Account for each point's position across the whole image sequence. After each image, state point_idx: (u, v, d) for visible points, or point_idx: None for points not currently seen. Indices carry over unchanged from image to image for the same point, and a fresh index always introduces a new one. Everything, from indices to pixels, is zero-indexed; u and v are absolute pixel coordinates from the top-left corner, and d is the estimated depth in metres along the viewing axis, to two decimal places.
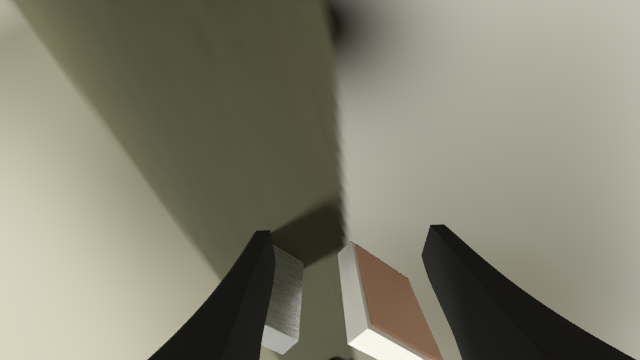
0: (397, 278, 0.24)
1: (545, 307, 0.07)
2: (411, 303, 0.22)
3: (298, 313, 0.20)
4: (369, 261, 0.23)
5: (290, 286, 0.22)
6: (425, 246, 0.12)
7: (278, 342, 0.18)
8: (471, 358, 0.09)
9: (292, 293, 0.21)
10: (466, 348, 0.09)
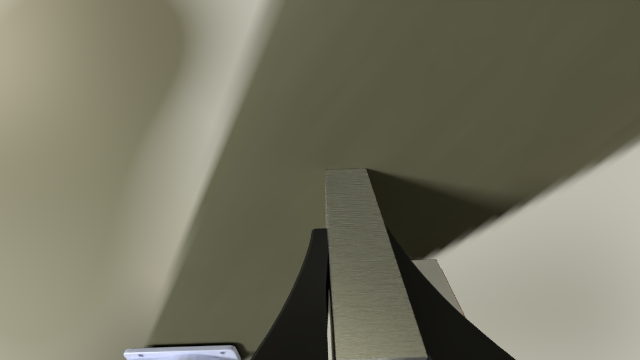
0: None
1: (454, 310, 0.07)
2: None
3: None
4: None
5: None
6: None
7: None
8: None
9: None
10: None
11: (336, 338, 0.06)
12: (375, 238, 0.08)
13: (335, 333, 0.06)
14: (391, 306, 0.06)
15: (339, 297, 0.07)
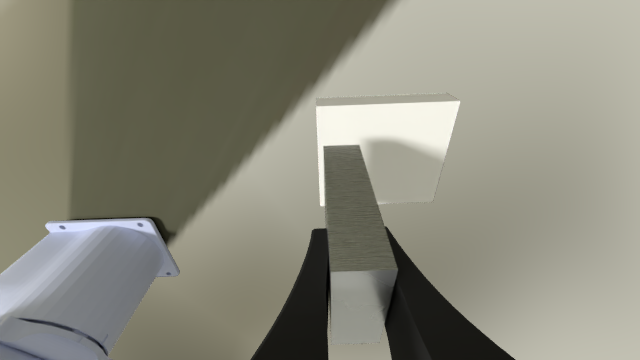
0: None
1: (454, 310, 0.07)
2: None
3: None
4: None
5: None
6: None
7: (356, 332, 0.10)
8: None
9: None
10: (394, 350, 0.09)
11: (331, 259, 0.08)
12: (364, 196, 0.10)
13: (330, 257, 0.08)
14: (373, 240, 0.08)
15: (334, 234, 0.09)
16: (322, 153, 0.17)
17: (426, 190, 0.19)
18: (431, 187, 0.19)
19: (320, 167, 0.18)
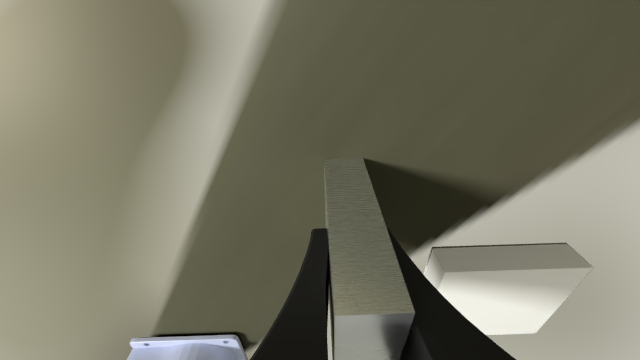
0: None
1: (454, 310, 0.07)
2: None
3: None
4: None
5: None
6: None
7: None
8: None
9: None
10: None
11: (334, 299, 0.07)
12: (370, 218, 0.09)
13: (333, 295, 0.07)
14: (384, 273, 0.07)
15: (337, 266, 0.07)
16: None
17: (531, 325, 0.19)
18: (537, 323, 0.19)
19: None
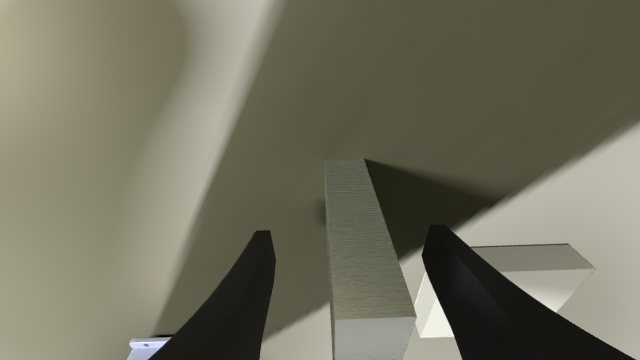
0: None
1: (545, 307, 0.07)
2: None
3: None
4: None
5: None
6: (425, 246, 0.12)
7: None
8: (471, 358, 0.09)
9: None
10: (466, 348, 0.09)
11: (335, 302, 0.06)
12: (371, 219, 0.09)
13: (334, 298, 0.07)
14: (385, 276, 0.07)
15: (338, 269, 0.07)
16: (437, 304, 0.17)
17: None
18: None
19: (432, 313, 0.18)
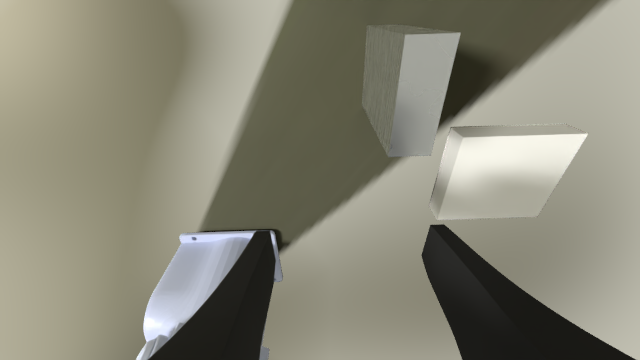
0: None
1: (545, 307, 0.07)
2: None
3: None
4: None
5: None
6: (425, 246, 0.12)
7: (413, 135, 0.11)
8: (471, 358, 0.09)
9: None
10: (466, 348, 0.09)
11: (402, 33, 0.09)
12: (416, 28, 0.12)
13: (401, 35, 0.10)
14: (434, 31, 0.10)
15: (399, 32, 0.10)
16: (454, 176, 0.20)
17: (534, 207, 0.22)
18: (539, 204, 0.22)
19: (448, 187, 0.20)
